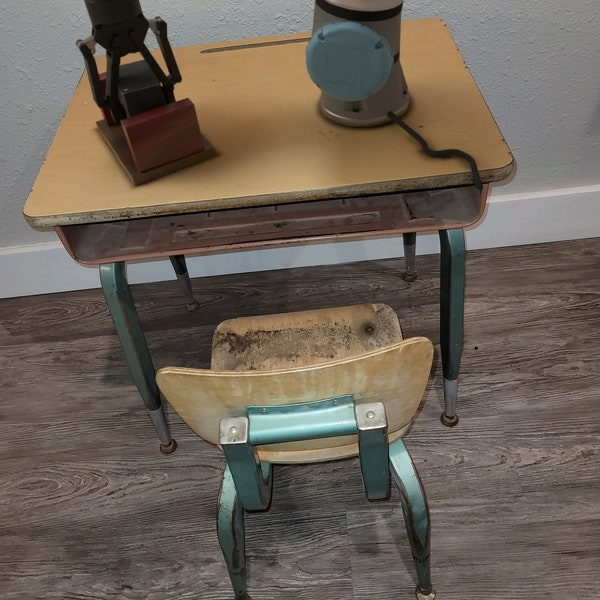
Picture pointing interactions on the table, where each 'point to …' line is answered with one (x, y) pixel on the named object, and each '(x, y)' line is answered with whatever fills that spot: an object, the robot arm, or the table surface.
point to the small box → (139, 88)
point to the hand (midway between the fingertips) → (151, 132)
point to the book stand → (155, 139)
